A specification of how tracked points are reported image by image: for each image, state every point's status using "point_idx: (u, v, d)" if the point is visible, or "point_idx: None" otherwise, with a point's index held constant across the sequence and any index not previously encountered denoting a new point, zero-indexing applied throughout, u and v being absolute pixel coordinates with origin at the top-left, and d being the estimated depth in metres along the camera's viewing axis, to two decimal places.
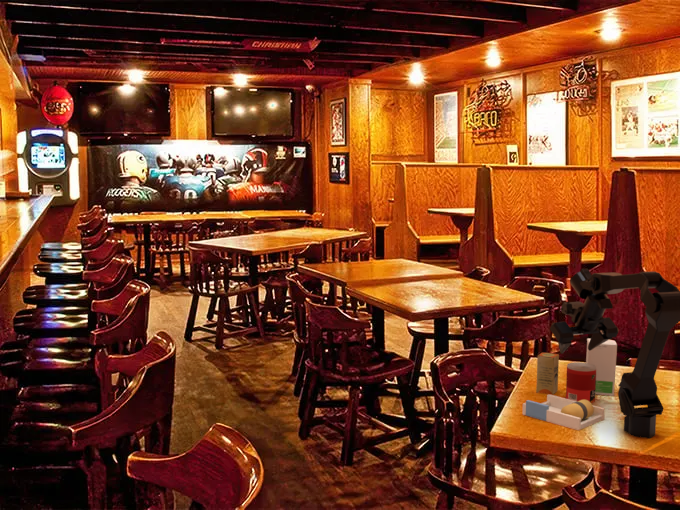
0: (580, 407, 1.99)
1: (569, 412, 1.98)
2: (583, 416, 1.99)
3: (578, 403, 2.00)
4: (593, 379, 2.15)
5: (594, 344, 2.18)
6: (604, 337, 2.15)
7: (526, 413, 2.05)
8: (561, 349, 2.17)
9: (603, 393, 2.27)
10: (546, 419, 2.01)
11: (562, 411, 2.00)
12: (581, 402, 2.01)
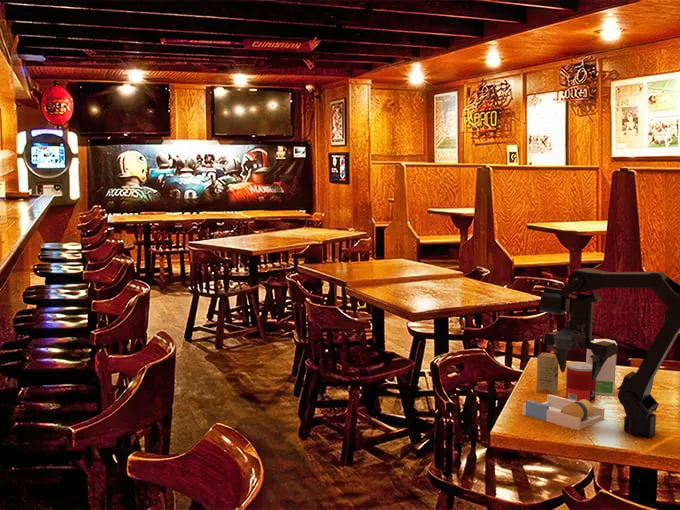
0: (580, 407, 1.99)
1: (569, 412, 1.98)
2: (583, 416, 1.99)
3: (578, 403, 2.00)
4: None
5: (565, 360, 2.04)
6: None
7: (526, 413, 2.05)
8: (597, 373, 1.96)
9: (603, 393, 2.27)
10: (546, 419, 2.01)
11: (562, 411, 2.00)
12: (581, 402, 2.01)
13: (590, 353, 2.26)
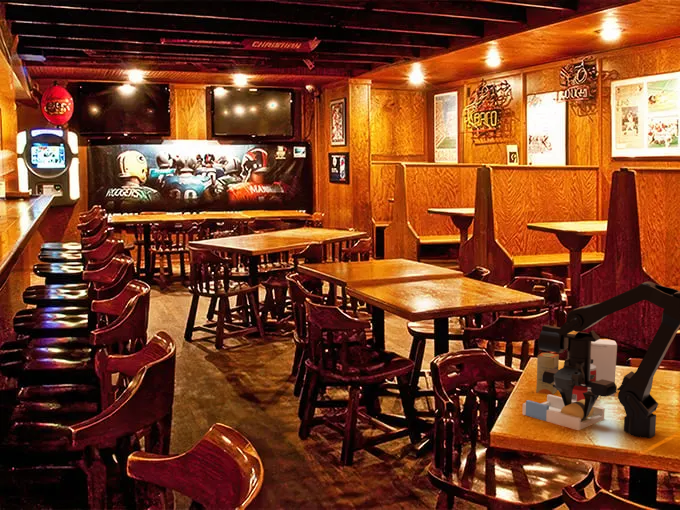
0: (580, 407, 1.99)
1: (569, 412, 1.98)
2: (583, 416, 1.99)
3: (578, 403, 2.00)
4: (593, 379, 2.15)
5: (570, 399, 2.03)
6: None
7: (526, 413, 2.05)
8: (589, 410, 1.99)
9: None
10: (546, 419, 2.01)
11: (562, 411, 2.00)
12: (581, 402, 2.01)
13: None
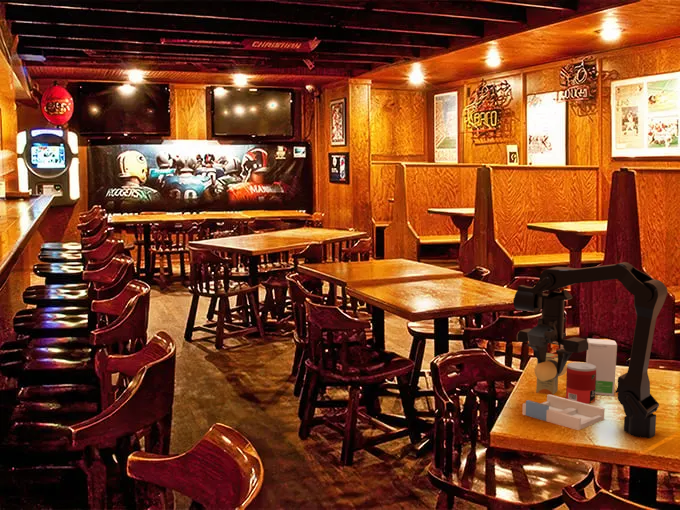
0: (553, 365, 2.04)
1: (542, 369, 2.03)
2: (556, 373, 2.04)
3: (551, 361, 2.05)
4: (593, 379, 2.15)
5: (544, 358, 2.08)
6: None
7: (526, 413, 2.05)
8: (562, 367, 2.04)
9: (603, 393, 2.27)
10: (546, 419, 2.01)
11: (536, 369, 2.05)
12: (554, 360, 2.06)
13: (590, 353, 2.26)
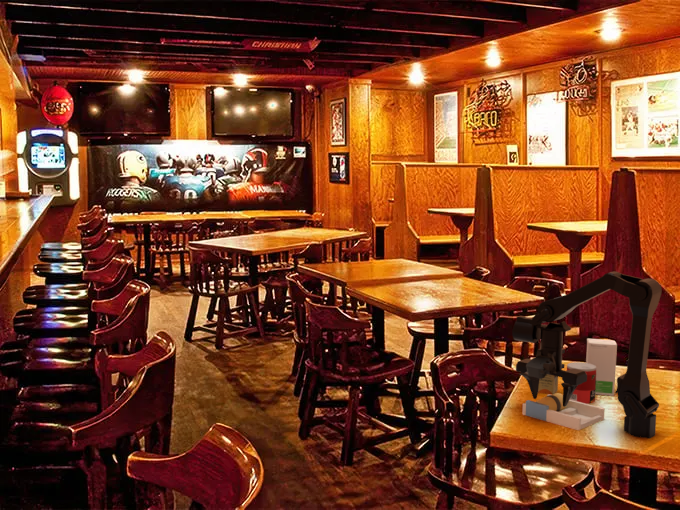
0: (554, 402, 2.04)
1: None
2: (556, 410, 2.05)
3: (553, 397, 2.06)
4: (593, 379, 2.15)
5: (537, 386, 2.11)
6: None
7: (526, 413, 2.05)
8: (568, 400, 2.03)
9: (603, 393, 2.27)
10: (546, 419, 2.01)
11: None
12: (556, 396, 2.07)
13: (590, 353, 2.26)
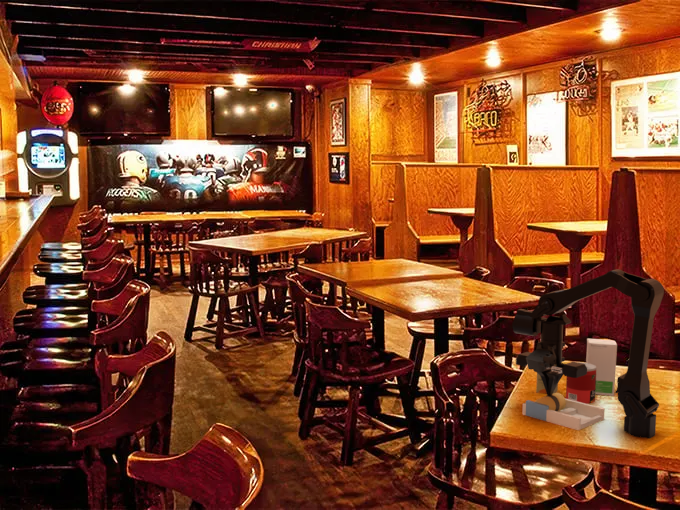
0: (552, 400, 2.05)
1: None
2: (555, 409, 2.05)
3: (551, 396, 2.06)
4: (593, 379, 2.15)
5: None
6: None
7: (526, 413, 2.05)
8: (553, 389, 2.06)
9: (603, 393, 2.27)
10: (546, 419, 2.01)
11: None
12: (554, 395, 2.07)
13: (590, 353, 2.26)
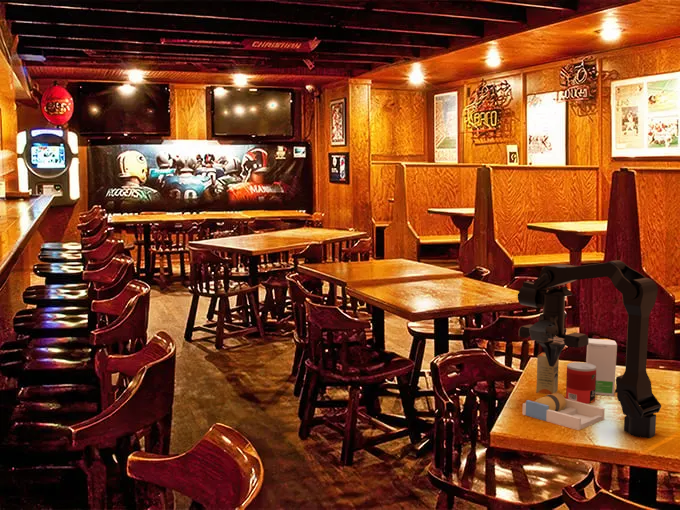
0: (552, 400, 2.05)
1: None
2: (555, 409, 2.05)
3: (551, 396, 2.06)
4: (593, 379, 2.15)
5: None
6: None
7: (526, 413, 2.05)
8: (555, 360, 2.11)
9: (603, 393, 2.27)
10: (546, 419, 2.01)
11: None
12: (554, 395, 2.07)
13: (590, 353, 2.26)
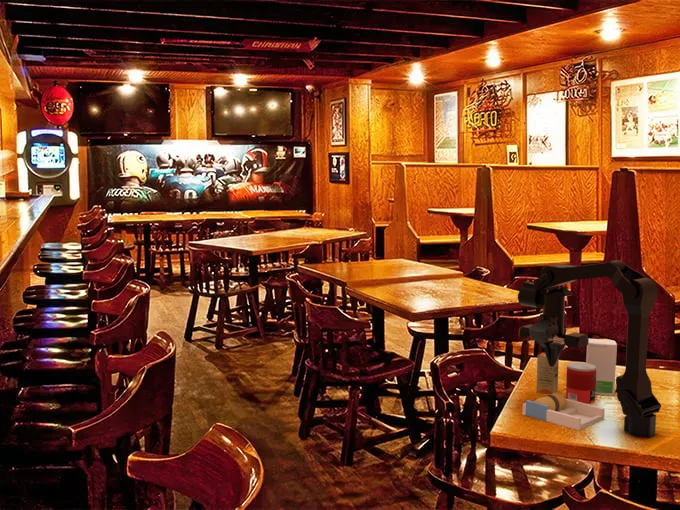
0: (552, 400, 2.05)
1: None
2: (555, 409, 2.05)
3: (550, 396, 2.06)
4: (593, 379, 2.15)
5: None
6: (553, 339, 2.13)
7: (526, 413, 2.05)
8: (555, 360, 2.11)
9: (603, 393, 2.27)
10: (546, 419, 2.01)
11: None
12: (553, 395, 2.07)
13: (590, 353, 2.26)
